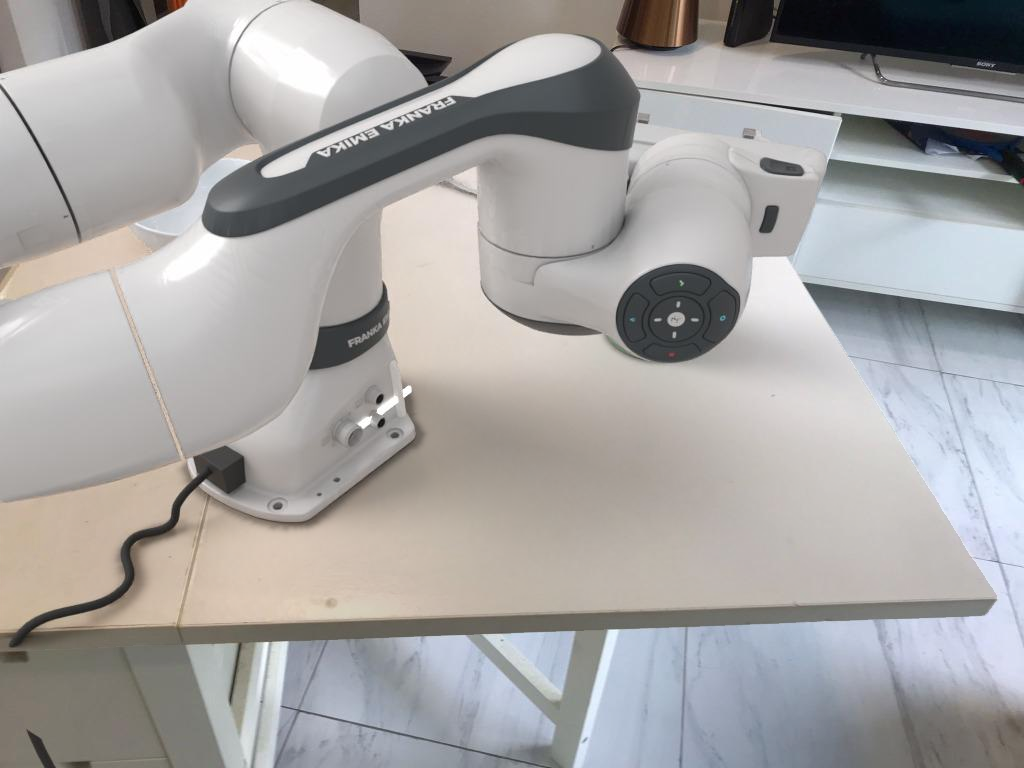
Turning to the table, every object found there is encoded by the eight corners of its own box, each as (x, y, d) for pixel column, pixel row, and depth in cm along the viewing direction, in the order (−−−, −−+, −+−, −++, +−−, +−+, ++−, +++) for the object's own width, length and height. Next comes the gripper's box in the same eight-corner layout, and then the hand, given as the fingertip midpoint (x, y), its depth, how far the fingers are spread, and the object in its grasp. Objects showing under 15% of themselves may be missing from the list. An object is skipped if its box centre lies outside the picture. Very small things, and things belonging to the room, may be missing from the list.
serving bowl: (96, 263, 100) (80, 213, 96) (193, 192, 116) (184, 146, 111) (245, 297, 96) (236, 247, 92) (325, 219, 112) (321, 173, 108)
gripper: (544, 216, 62) (571, 146, 72) (815, 260, 59) (803, 181, 70) (552, 137, 58) (580, 75, 68) (843, 180, 55) (825, 109, 66)
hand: (694, 129), depth 69 cm, fingers open, 8 cm apart
